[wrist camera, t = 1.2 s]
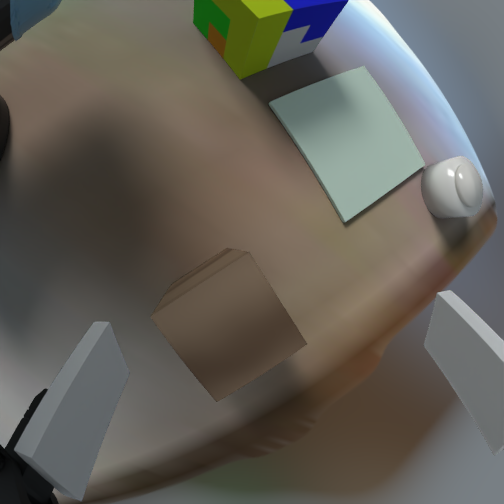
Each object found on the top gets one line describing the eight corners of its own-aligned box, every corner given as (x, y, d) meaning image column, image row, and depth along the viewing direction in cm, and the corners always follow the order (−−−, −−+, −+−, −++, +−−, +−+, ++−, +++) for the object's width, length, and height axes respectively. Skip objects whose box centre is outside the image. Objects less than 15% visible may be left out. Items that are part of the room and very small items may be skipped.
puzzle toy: (312, 52, 28) (348, 0, 18) (239, 80, 26) (259, 18, 17) (264, 1, 26) (284, -53, 17) (193, 23, 25) (196, -39, 15)
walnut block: (171, 284, 26) (150, 316, 14) (227, 248, 27) (249, 252, 15) (208, 337, 27) (216, 402, 15) (262, 302, 27) (307, 344, 16)
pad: (268, 104, 27) (269, 101, 26) (361, 68, 29) (363, 65, 28) (342, 222, 29) (345, 222, 28) (422, 165, 30) (425, 164, 30)
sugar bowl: (412, 177, 30) (445, 168, 24) (440, 156, 31) (471, 146, 25) (435, 228, 31) (469, 227, 25) (461, 202, 32) (492, 198, 26)
